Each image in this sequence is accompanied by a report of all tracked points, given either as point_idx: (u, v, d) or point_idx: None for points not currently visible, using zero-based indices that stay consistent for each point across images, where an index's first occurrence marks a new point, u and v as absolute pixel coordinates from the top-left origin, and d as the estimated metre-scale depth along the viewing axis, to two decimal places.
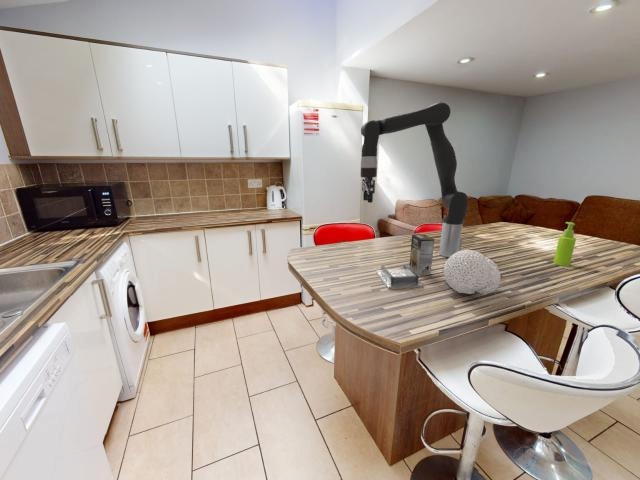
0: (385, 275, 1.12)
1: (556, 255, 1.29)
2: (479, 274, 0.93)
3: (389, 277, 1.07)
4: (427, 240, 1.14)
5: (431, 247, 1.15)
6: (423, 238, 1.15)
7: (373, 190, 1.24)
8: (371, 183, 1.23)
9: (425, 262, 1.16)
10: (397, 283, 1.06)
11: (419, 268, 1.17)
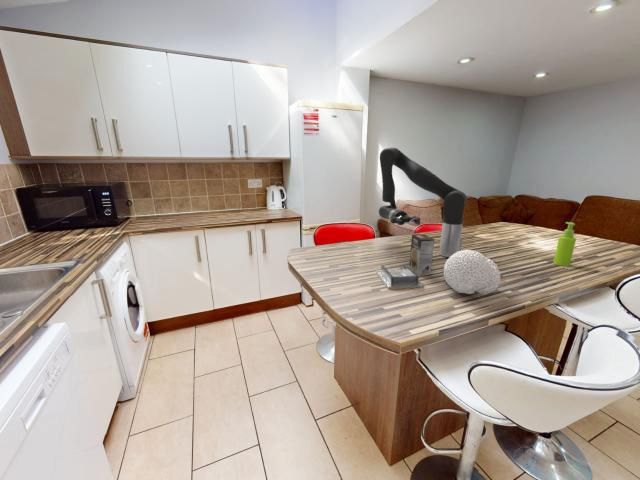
0: (385, 275, 1.12)
1: (556, 255, 1.29)
2: (479, 274, 0.93)
3: (389, 277, 1.07)
4: (427, 240, 1.14)
5: (431, 247, 1.15)
6: (423, 238, 1.15)
7: None
8: (390, 220, 1.38)
9: (425, 262, 1.16)
10: (397, 283, 1.06)
11: (419, 268, 1.17)
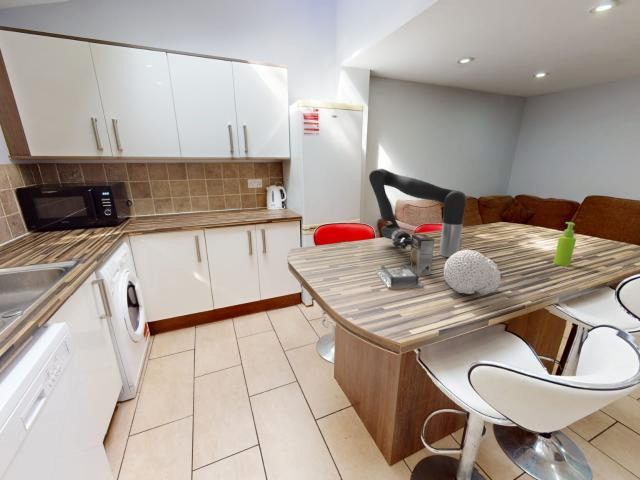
0: (385, 275, 1.12)
1: (556, 255, 1.29)
2: (479, 274, 0.93)
3: (389, 277, 1.07)
4: (427, 240, 1.14)
5: (431, 247, 1.15)
6: (423, 238, 1.15)
7: None
8: (393, 242, 1.35)
9: (425, 262, 1.16)
10: (397, 283, 1.06)
11: (419, 268, 1.17)
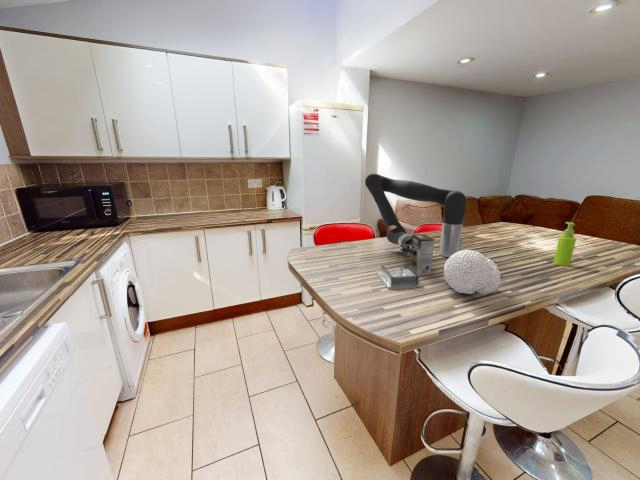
0: (385, 275, 1.12)
1: (556, 255, 1.29)
2: (479, 274, 0.93)
3: (389, 277, 1.07)
4: (427, 240, 1.14)
5: (430, 246, 1.15)
6: (423, 238, 1.15)
7: (405, 248, 1.22)
8: (401, 248, 1.25)
9: (425, 262, 1.16)
10: (397, 283, 1.06)
11: (419, 268, 1.17)
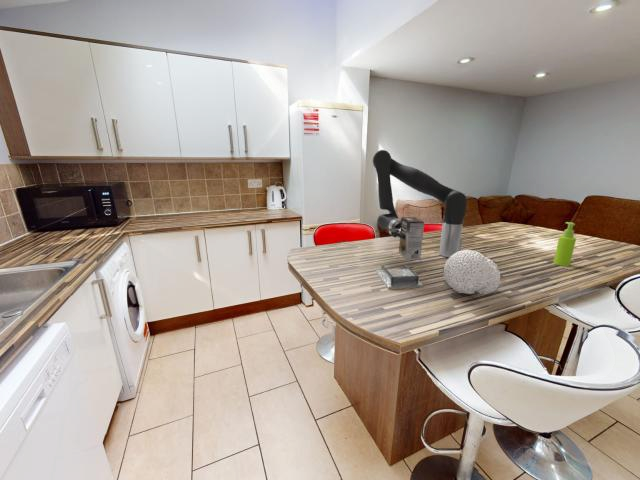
0: (385, 275, 1.12)
1: (556, 255, 1.29)
2: (479, 274, 0.93)
3: (389, 277, 1.07)
4: (416, 222, 1.07)
5: (420, 229, 1.08)
6: (412, 221, 1.08)
7: (393, 232, 1.16)
8: (390, 232, 1.19)
9: (414, 246, 1.10)
10: (397, 283, 1.06)
11: (408, 252, 1.11)
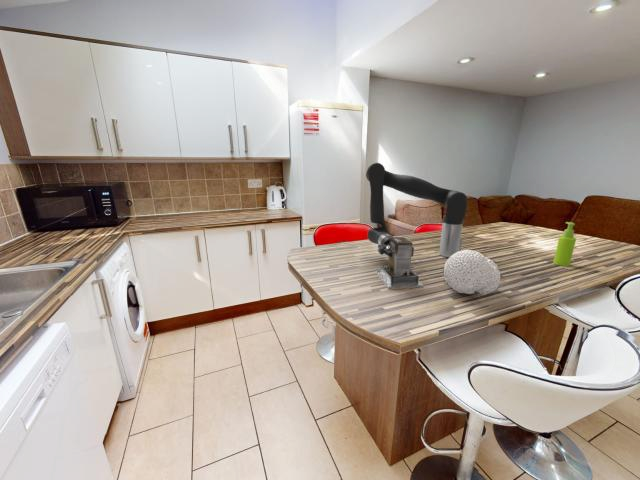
0: (385, 275, 1.12)
1: (556, 255, 1.29)
2: (479, 274, 0.93)
3: (389, 277, 1.07)
4: (404, 244, 1.05)
5: (408, 251, 1.06)
6: (400, 242, 1.06)
7: None
8: (378, 249, 1.17)
9: (402, 268, 1.07)
10: (397, 283, 1.06)
11: (396, 274, 1.08)
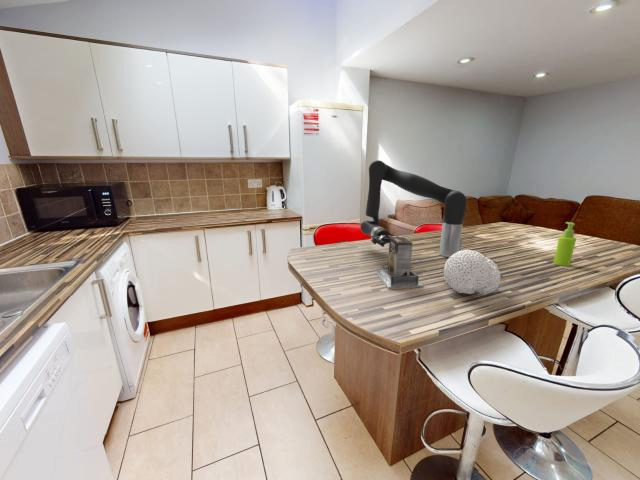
0: (385, 275, 1.12)
1: (556, 255, 1.29)
2: (479, 274, 0.93)
3: (389, 277, 1.07)
4: (404, 244, 1.05)
5: (408, 251, 1.06)
6: (400, 242, 1.06)
7: (374, 239, 1.25)
8: (371, 239, 1.28)
9: (402, 268, 1.08)
10: (397, 283, 1.06)
11: (396, 274, 1.08)
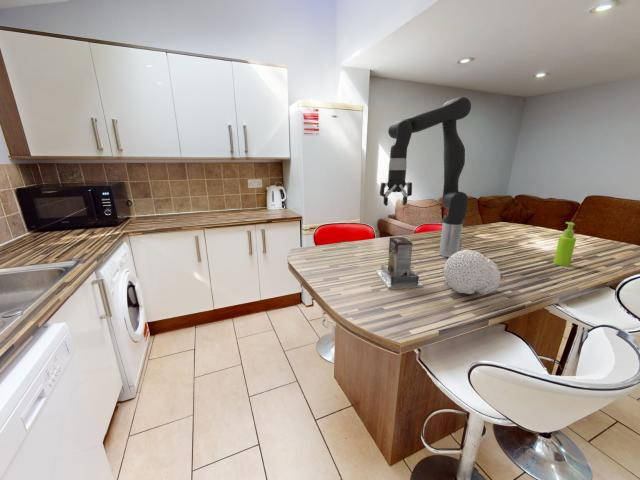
0: (385, 275, 1.12)
1: (556, 255, 1.29)
2: (479, 274, 0.93)
3: (389, 277, 1.07)
4: (404, 244, 1.05)
5: (408, 251, 1.06)
6: (400, 242, 1.06)
7: None
8: None
9: (402, 268, 1.08)
10: (397, 283, 1.06)
11: (396, 274, 1.08)
